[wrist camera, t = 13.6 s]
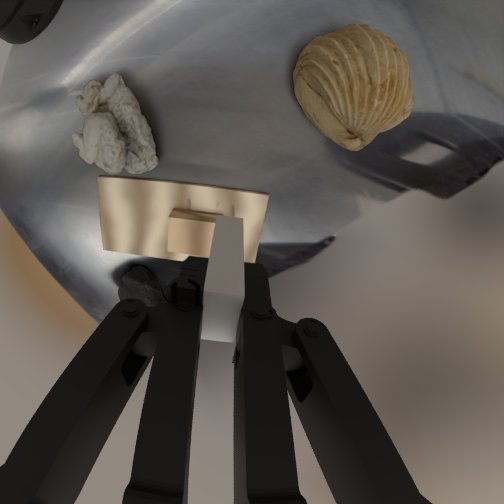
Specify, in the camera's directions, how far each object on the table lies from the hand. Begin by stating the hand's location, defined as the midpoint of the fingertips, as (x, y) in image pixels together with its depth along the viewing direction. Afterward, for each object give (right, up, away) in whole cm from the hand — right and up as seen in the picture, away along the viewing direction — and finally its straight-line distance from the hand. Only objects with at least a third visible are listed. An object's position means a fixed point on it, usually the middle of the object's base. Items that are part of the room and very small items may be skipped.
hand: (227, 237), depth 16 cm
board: (-11, +4, +28) cm, 31 cm away
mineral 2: (-20, -8, +35) cm, 41 cm away
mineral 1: (-18, +19, +19) cm, 32 cm away
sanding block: (-8, +3, +28) cm, 29 cm away
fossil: (+14, +23, +17) cm, 32 cm away
